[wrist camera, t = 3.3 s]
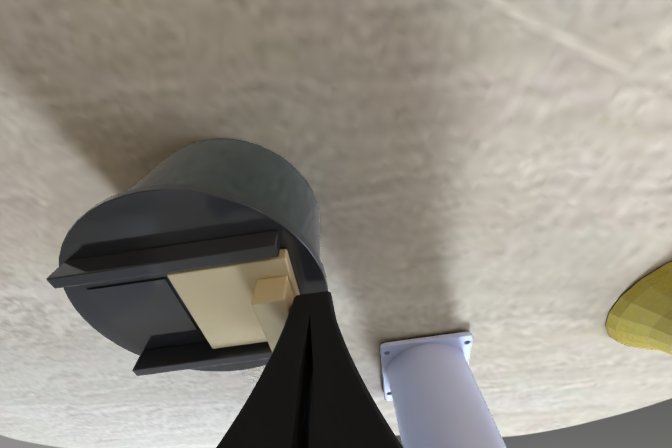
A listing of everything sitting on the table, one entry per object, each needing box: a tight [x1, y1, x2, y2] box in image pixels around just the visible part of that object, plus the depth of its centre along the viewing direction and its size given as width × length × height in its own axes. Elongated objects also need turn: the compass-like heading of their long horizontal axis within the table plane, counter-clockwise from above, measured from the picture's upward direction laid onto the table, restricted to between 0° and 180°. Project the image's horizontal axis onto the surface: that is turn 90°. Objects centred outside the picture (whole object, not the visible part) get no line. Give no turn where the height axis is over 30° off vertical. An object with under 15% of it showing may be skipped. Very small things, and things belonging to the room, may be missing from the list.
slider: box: [167, 249, 300, 353], centre depth 11 cm, size 4×5×2 cm
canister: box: [47, 139, 328, 376], centre depth 15 cm, size 11×11×8 cm
